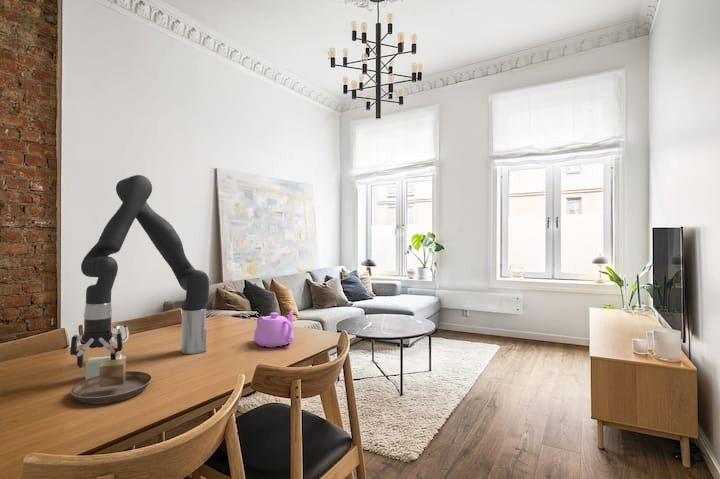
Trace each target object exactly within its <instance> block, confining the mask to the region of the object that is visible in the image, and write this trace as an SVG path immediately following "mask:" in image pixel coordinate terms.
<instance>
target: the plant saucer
mask: <svg viewBox="0 0 720 479" xmlns="http://www.w3.org/2000/svg"><path fill="white" fill-rule="evenodd" d="M151 381H152V374H150V373H148V372H144V371H136V370H135V371H134V370H126V373H125V381H124V384H123V385H115V386H107V387H99V376H95V377H92V378H89V379H86V378H85V379H84V380H82V381H80V382H78V383H75V385H73V386H72V387H71V389H70V392H69V393H70V394H71V395H72V396H73V398H75V399H76V400H77V401H79V402H81V403H85V404H91V405H99V404H100V405H101V404H110V403H114V402H120V401H124V400H127V399H131V398H133V397H135V396H137V395H139V394H140V393H142V392H143V391H144V390H145V389H146V388H147V387H148V386H149V384H150V382H151Z"/></svg>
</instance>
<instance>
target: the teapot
mask: <svg viewBox="0 0 720 479" xmlns="http://www.w3.org/2000/svg"><path fill="white" fill-rule="evenodd" d="M295 311H296V309H292V310H291V311H289V313H288V315H287V317H285V316H284V315H279V313H278V312H270V313H269V314H270V315H267V316H263V315H262V316H260V317H258V318H257V320H256V328H255V330H254V335H253V340H254V342H255V343H256V344H257V345H258V346H260V347H264V346H266V347H265V348H272V347H275V346H280V347H283V346H282V345H285V346H287V345H286V344H288V343H289V344H290V343H293V341H294V338H295V337H294V336H295V335H294V334H295V333H294V329H293V328H294V327H293V326H294V322H293V321H294V320H293V317H294V313H295ZM289 344H288V345H289ZM275 348H276V347H275Z"/></svg>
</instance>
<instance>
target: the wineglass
mask: <svg viewBox="0 0 720 479" xmlns="http://www.w3.org/2000/svg"><path fill="white" fill-rule="evenodd" d="M111 332H112V334H114V333H119V332H122V344H124V343H126V342H127V341H128V340H129V336H130V332H129V328H128V325H115V326H113V327H112V329H111ZM110 340H111V342H113V343H114V344H117V340H115V338H114V337H112V338H111V339H110ZM121 352H122V350H121V351H118V353H119V354H118V355H117V356H116V360H117V359H127V358H128V357H127V356H126V355H122V353H121Z"/></svg>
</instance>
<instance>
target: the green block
mask: <svg viewBox="0 0 720 479" xmlns="http://www.w3.org/2000/svg"><path fill="white" fill-rule="evenodd" d="M107 360H110V355H109V356H106V355H105V356H97V357H96V356H95V357H89V358H88V359H87V361H86V362H85V380H86V379H89V378H92V377H95V376H99V374H100V365H101V363H102V362H103V361H107Z"/></svg>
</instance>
